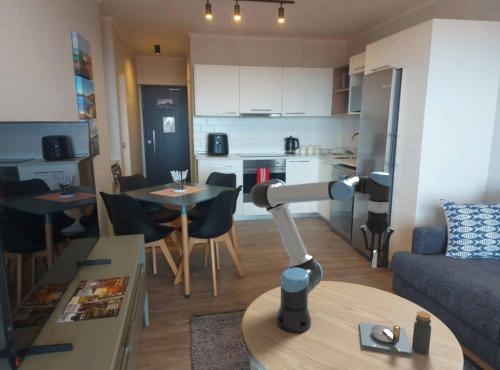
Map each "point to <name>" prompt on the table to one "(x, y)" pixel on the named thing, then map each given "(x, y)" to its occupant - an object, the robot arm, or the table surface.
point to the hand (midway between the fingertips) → (374, 266)
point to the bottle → (422, 333)
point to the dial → (386, 333)
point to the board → (376, 345)
